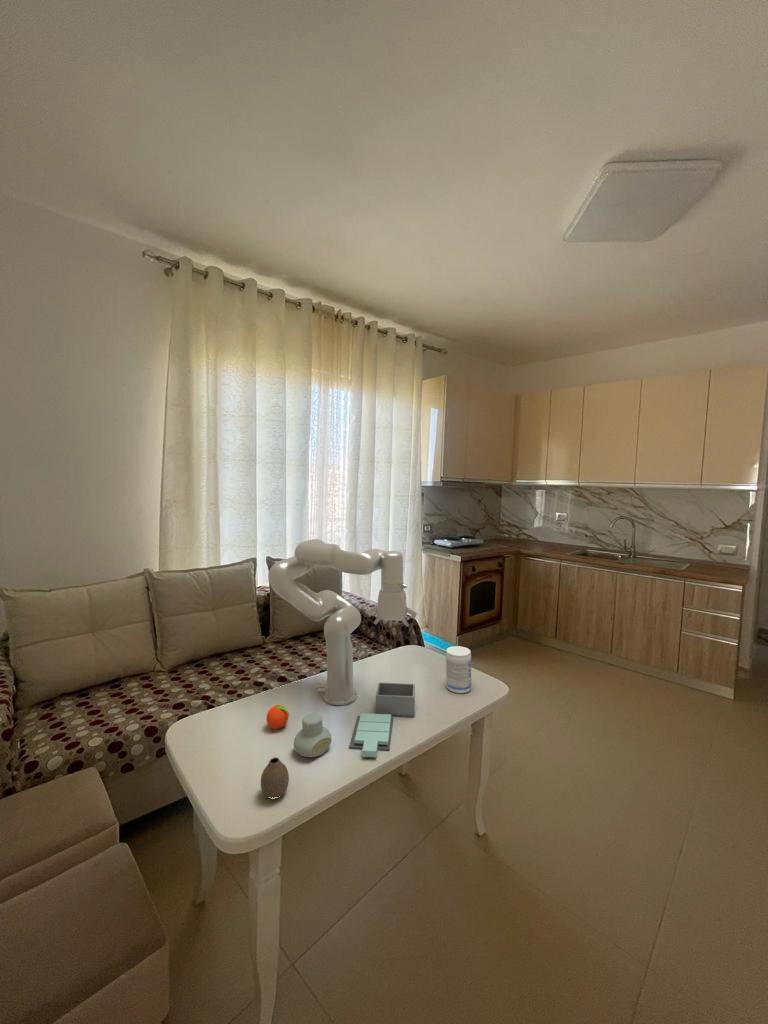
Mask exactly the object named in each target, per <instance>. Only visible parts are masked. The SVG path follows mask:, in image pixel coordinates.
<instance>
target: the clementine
mask: <svg viewBox="0 0 768 1024" xmlns="http://www.w3.org/2000/svg"><path fill="white" fill-rule="evenodd" d="M289 716H291V714H290V712H289V710H288V708H286V707H285V706H284V705H282V704H275V705H274V706H272V707H270V709H269V710H268V711H267V714H266V723H267V724H268V726H269V727H270V728H272V729H274V730H278V729H279V730H280V729H281V728H284V726H285V725H286V724H287V723H288V721H289Z"/></svg>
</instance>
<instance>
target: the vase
mask: <svg viewBox="0 0 768 1024" xmlns="http://www.w3.org/2000/svg"><path fill="white" fill-rule="evenodd" d="M289 782H290V773H289V770H288V768H287V766H286V764H284V763H283V762H282V761H281V760H280V758H279V757H275V756H274V757H272V758H270V759H269V761H268V764H267V765H266V766H265V768H264V769H263V771H262V772H261V776H260V788H261V791H262V794H263V796H264V797H266V796H267V797H271V798H272V797H273V798H274V797H279V796H281V795H282V794H283V795H284V794H285V793H286V791H287V789H288V787H289V784H290V783H289ZM283 795H282V796H283ZM282 796H281V797H282ZM267 797H266V798H267ZM279 798H280V797H279Z"/></svg>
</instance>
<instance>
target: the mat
mask: <svg viewBox="0 0 768 1024" xmlns="http://www.w3.org/2000/svg"><path fill="white" fill-rule="evenodd" d="M360 716H361V715H357V717H356V721H355V724H354V727H353V731H352V735H351V738H350V742H349V745H348V749H350V750H362V749H363V745H364V744H359V743H355V736H356V732H357V728H358V724H359V720H360ZM393 725H394V716H391V723H390V732H389V741H388V745H381V744H378V749H377V751H385V752H390V748H391V742H392V741H391V740H392V733H393V732H392V731H393Z"/></svg>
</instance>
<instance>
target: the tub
mask: <svg viewBox="0 0 768 1024" xmlns="http://www.w3.org/2000/svg"><path fill="white" fill-rule="evenodd" d="M415 709H416V683H404V682H403V683H402V682H399V683H397V682H378V683H377V690H376V693H375V714H391V717H393V718H395V717H399V718H415V712H416V710H415Z"/></svg>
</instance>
